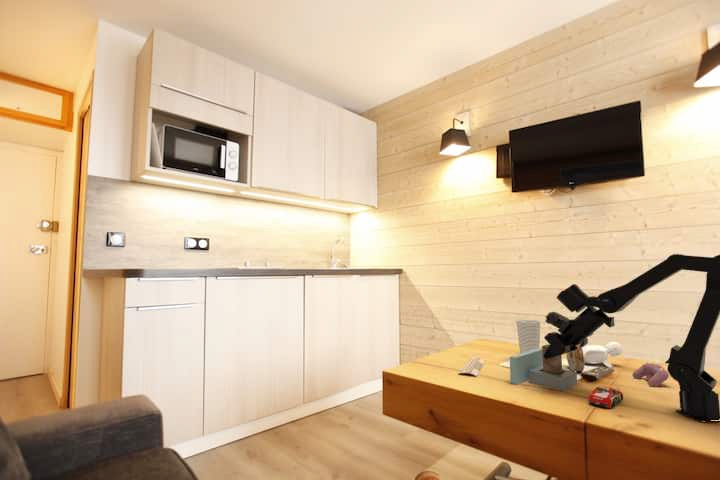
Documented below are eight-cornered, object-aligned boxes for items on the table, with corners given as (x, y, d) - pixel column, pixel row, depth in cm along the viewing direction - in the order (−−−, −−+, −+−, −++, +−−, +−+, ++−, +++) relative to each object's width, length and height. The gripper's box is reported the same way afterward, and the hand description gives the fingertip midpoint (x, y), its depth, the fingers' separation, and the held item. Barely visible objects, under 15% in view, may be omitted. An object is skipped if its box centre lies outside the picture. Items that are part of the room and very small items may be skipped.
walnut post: (562, 379, 109) (560, 346, 110) (557, 382, 106) (555, 348, 107) (549, 376, 112) (547, 344, 113) (543, 379, 109) (541, 346, 110)
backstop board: (545, 372, 120) (544, 348, 121) (516, 384, 108) (515, 357, 108) (539, 371, 122) (538, 347, 123) (510, 383, 109) (509, 356, 110)
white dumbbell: (587, 374, 129) (632, 362, 124) (576, 352, 131) (620, 339, 126) (581, 368, 137) (624, 357, 132) (571, 347, 139) (612, 335, 134)
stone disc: (587, 375, 118) (585, 344, 119) (574, 374, 119) (573, 344, 120) (578, 367, 128) (576, 339, 129) (566, 366, 129) (565, 338, 130)
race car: (603, 394, 100) (602, 380, 100) (626, 400, 96) (625, 384, 96) (585, 405, 92) (584, 389, 92) (609, 411, 88) (608, 394, 88)
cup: (528, 366, 129) (526, 322, 131) (512, 360, 137) (511, 319, 139) (547, 364, 131) (545, 322, 133) (530, 359, 140) (529, 319, 141)
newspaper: (469, 361, 139) (469, 356, 139) (488, 363, 136) (488, 358, 136) (458, 377, 118) (458, 371, 118) (480, 380, 115) (480, 374, 115)
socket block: (577, 385, 108) (576, 371, 109) (564, 392, 102) (563, 377, 102) (543, 377, 116) (543, 365, 116) (529, 383, 110) (528, 370, 110)
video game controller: (664, 393, 105) (675, 372, 105) (648, 385, 106) (658, 364, 106) (644, 383, 115) (654, 363, 115) (630, 375, 116) (639, 356, 116)
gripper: (574, 302, 114) (541, 332, 122) (549, 305, 102) (514, 339, 110) (604, 329, 107) (567, 360, 115) (582, 336, 96) (541, 370, 103)
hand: (547, 356), depth 111 cm, fingers closed on walnut post, 4 cm apart
